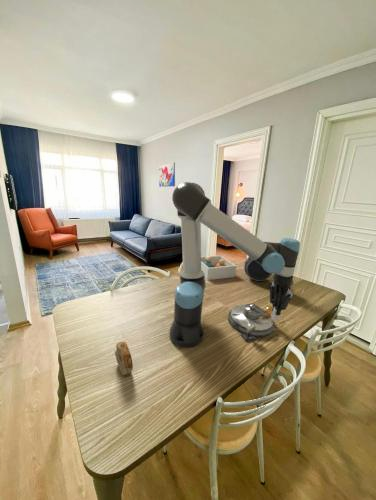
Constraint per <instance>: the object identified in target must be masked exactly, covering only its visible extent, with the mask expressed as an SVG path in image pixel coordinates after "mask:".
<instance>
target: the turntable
mask: <svg viewBox="0 0 376 500" xmlns="http://www.w3.org/2000/svg"><path fill="white" fill-rule="evenodd" d="M245 305H246V304H238V305H236V306H234V307H232V308H231V310H230V311H231V318H232V320H233V321H234V322H235V323H236V324H237V325H238V326H240V327H242V328H244V329H246V327H247V325H248V324H250V323H252V324H254V325H255V330H254V331H255V332H263V331H267V330H269V329H270V328H271V327H272V325H273V320H272V319H271V318H272V313H273V312H272V308H273V306H270V305H267V306H266V308H265V309H263V308H261V313H260V318H259V319H258V320H250V319H247V318H246V317H245V316H244V315H243V311H244V306H245Z"/></svg>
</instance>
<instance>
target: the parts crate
mask: <svg viewBox="0 0 376 500" xmlns="http://www.w3.org/2000/svg"><path fill="white" fill-rule="evenodd" d="M206 257H210V258H211V263H212V266H214V267H210V268H209V267H207V266H206V265H205V264H204V262H205V258H206ZM221 259H223V260H224V261H225V264H226V266H223V267H215V266H216V265H217V263H219V260H221ZM201 270H203V271H204V273H205V280H207V281H209V280H220V279H221V280H222V279H230V278H236V271H237V265H236V264H235V263H233V262H232V261H230V260H228V259H227V258H226V257H224V256H222V255H210V256H209V255H207V256H201Z"/></svg>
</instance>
